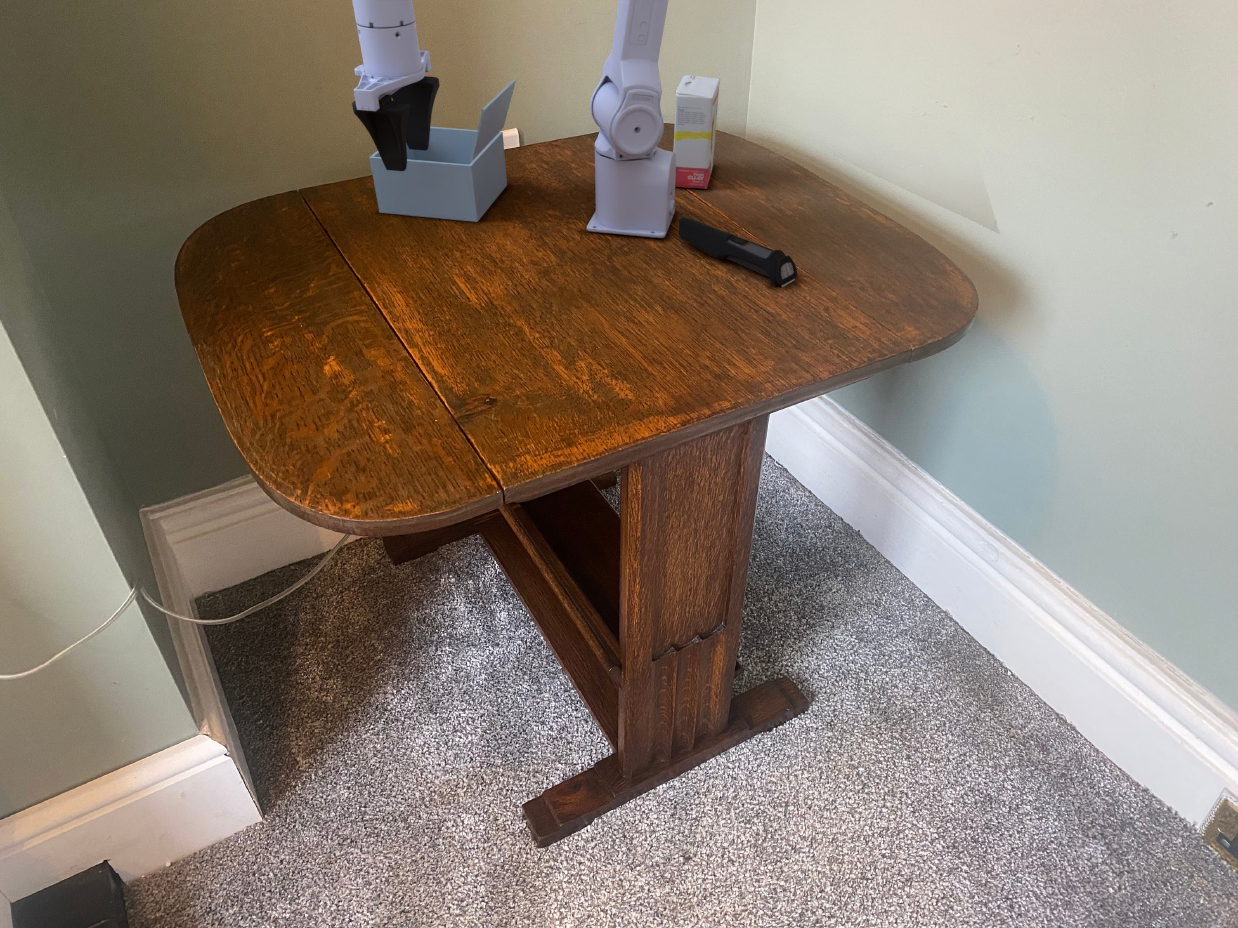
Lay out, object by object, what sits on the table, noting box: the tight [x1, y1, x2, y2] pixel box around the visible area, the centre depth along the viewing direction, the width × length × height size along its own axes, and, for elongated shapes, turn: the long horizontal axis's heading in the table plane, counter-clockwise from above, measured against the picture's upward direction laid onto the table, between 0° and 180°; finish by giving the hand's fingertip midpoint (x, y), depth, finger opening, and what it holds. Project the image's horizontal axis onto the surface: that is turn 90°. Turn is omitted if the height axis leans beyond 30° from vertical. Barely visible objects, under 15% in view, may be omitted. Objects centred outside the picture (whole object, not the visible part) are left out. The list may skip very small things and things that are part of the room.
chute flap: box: [470, 78, 517, 161], centre depth 101 cm, size 6×12×1 cm
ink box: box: [672, 74, 721, 190], centre depth 111 cm, size 9×5×12 cm, turn 169°
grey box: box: [368, 126, 508, 223], centre depth 107 cm, size 13×12×7 cm
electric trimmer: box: [678, 216, 798, 288], centre depth 95 cm, size 4×16×3 cm, turn 45°
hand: (407, 159), depth 92 cm, fingers open, 6 cm apart
